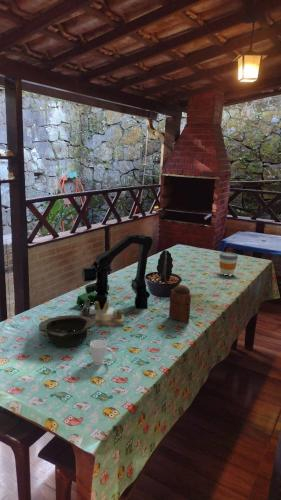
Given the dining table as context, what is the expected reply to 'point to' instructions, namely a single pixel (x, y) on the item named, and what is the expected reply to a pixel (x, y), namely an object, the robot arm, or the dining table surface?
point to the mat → (101, 311)
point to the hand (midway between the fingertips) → (101, 307)
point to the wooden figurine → (180, 303)
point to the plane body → (107, 318)
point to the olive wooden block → (106, 307)
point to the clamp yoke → (86, 308)
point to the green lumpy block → (83, 297)
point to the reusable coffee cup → (227, 262)
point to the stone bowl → (67, 329)
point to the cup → (99, 351)
